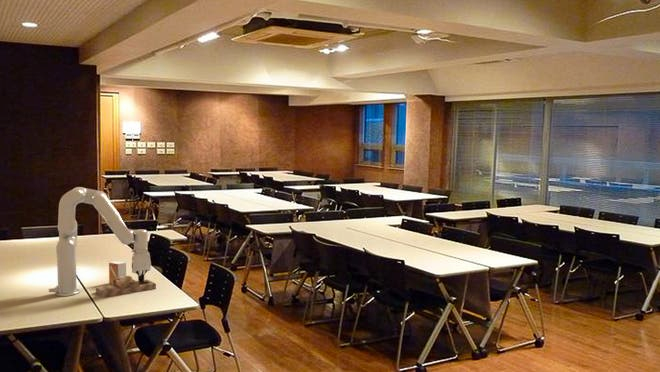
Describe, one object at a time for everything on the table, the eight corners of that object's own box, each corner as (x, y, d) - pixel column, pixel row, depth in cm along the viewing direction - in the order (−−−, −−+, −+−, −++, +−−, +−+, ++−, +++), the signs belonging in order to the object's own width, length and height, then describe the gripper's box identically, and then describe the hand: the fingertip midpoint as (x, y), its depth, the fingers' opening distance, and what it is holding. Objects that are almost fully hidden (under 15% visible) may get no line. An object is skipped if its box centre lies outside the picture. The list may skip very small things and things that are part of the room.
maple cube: (123, 287, 322) (123, 278, 322) (120, 285, 326) (120, 276, 325) (132, 285, 325) (132, 277, 325) (128, 283, 329) (128, 275, 329)
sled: (121, 287, 319) (121, 283, 319) (115, 284, 326) (115, 280, 326) (136, 285, 325) (136, 281, 325) (130, 282, 331) (130, 278, 331)
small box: (109, 283, 341) (108, 262, 340) (117, 281, 346) (117, 260, 345) (118, 285, 337) (117, 264, 336) (126, 283, 342) (126, 262, 341)
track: (103, 297, 311) (103, 286, 311) (95, 292, 321) (95, 282, 321) (156, 288, 330) (155, 278, 330) (147, 284, 340) (146, 274, 340)
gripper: (130, 253, 322) (131, 285, 323) (155, 250, 332) (156, 281, 333) (125, 251, 328) (126, 282, 329) (150, 248, 337) (151, 278, 339)
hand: (141, 281), depth 331 cm, fingers closed
